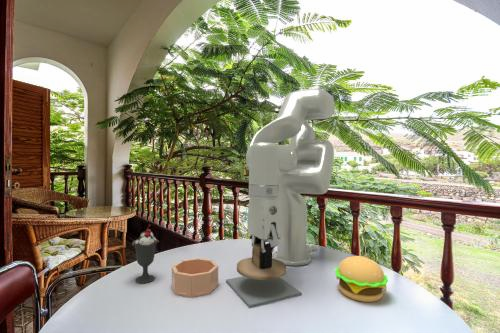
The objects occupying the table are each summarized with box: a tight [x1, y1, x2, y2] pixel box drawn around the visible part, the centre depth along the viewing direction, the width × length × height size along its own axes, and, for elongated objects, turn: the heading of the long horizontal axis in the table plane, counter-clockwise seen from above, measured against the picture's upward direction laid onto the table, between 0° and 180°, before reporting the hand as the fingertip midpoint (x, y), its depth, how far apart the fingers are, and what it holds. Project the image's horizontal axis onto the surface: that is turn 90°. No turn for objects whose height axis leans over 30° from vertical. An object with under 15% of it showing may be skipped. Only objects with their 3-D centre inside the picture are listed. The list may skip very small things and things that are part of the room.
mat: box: [225, 275, 303, 309], centre depth 66 cm, size 14×14×1 cm
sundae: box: [131, 224, 160, 285], centre depth 69 cm, size 7×7×15 cm
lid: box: [236, 244, 287, 280], centre depth 65 cm, size 12×12×6 cm
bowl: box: [170, 257, 219, 298], centre depth 66 cm, size 11×11×5 cm
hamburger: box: [334, 255, 389, 303], centre depth 64 cm, size 12×12×9 cm
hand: (261, 264), depth 65 cm, fingers closed on lid, 3 cm apart
